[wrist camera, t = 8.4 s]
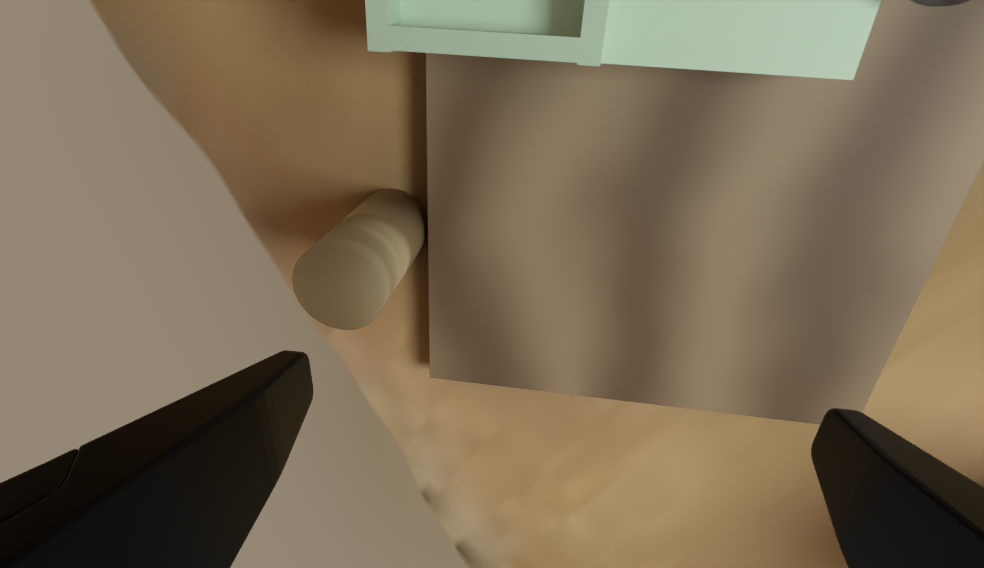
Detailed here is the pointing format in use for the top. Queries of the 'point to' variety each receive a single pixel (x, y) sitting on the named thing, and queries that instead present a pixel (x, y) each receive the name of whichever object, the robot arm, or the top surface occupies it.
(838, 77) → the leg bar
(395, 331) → the top surface
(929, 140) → the board
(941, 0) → the pivot pin
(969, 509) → the robot arm
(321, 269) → the oak dowel
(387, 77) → the top surface
